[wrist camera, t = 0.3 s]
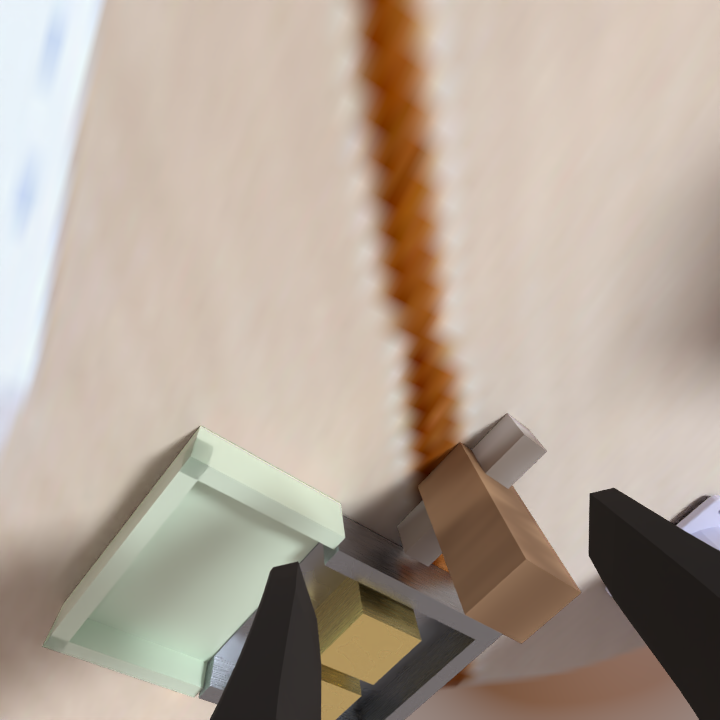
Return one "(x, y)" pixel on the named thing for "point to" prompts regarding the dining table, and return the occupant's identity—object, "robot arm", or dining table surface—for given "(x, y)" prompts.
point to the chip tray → (192, 564)
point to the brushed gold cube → (364, 631)
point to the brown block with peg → (490, 534)
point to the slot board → (402, 583)
